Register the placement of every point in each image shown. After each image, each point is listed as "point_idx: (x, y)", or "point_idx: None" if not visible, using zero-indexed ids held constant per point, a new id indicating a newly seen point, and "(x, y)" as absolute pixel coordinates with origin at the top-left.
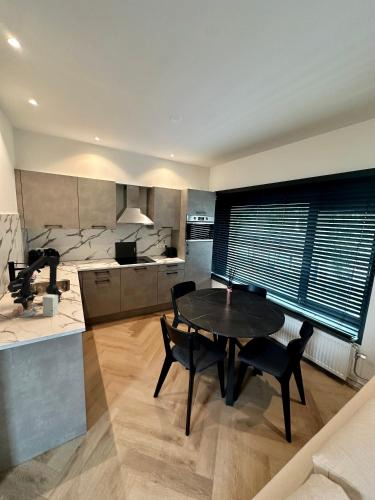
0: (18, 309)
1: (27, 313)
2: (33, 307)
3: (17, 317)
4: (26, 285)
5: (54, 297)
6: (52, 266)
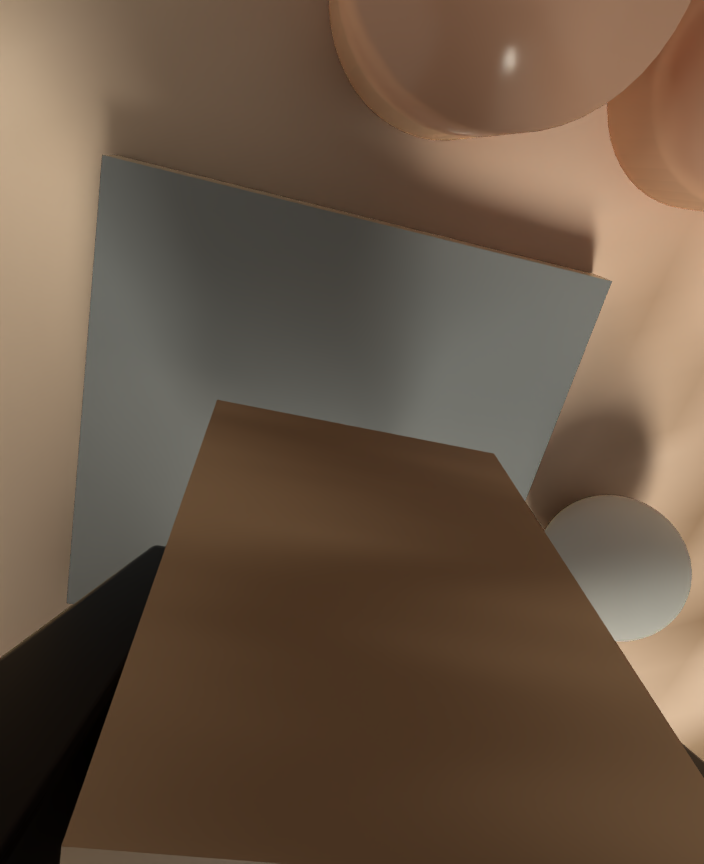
0: (505, 71)
1: None
2: (651, 574)
3: (109, 164)
4: None
5: None
6: None
